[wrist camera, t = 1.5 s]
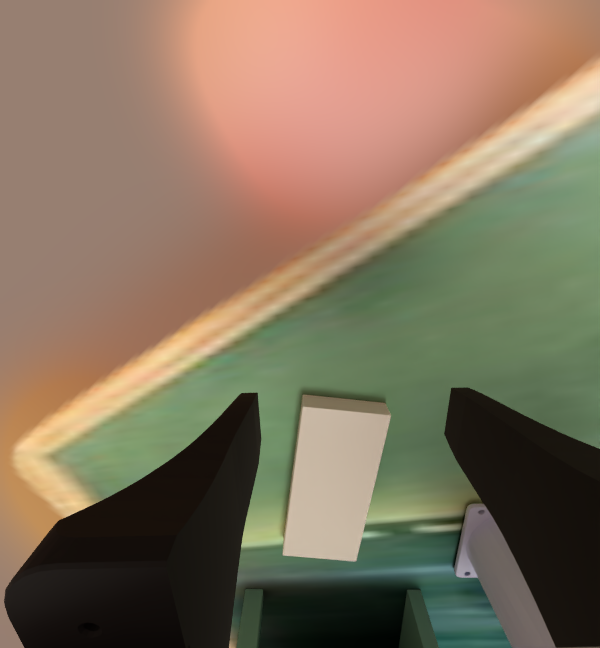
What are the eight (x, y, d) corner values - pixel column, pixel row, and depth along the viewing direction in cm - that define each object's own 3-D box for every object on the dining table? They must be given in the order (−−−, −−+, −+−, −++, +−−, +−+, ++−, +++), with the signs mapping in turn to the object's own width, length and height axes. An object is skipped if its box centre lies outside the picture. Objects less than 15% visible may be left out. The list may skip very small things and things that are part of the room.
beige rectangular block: (383, 399, 23) (391, 415, 21) (352, 537, 28) (355, 561, 26) (302, 390, 23) (302, 406, 21) (284, 531, 27) (282, 555, 26)
